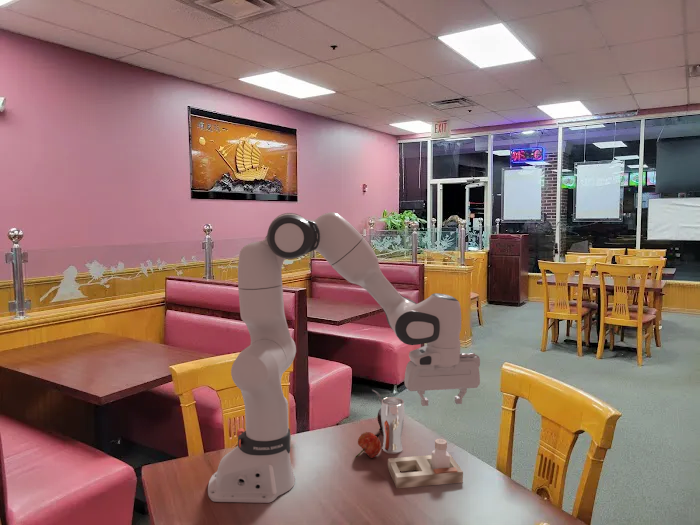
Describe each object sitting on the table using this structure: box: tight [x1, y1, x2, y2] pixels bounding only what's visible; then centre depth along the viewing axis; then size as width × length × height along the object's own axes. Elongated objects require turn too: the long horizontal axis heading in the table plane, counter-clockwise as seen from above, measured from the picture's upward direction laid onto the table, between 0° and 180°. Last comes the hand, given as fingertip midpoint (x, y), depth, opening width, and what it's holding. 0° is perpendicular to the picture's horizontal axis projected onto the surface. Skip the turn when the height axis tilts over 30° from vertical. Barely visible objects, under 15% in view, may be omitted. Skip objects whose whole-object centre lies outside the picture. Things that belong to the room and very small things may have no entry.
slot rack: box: [387, 453, 464, 489], centre depth 140 cm, size 18×10×3 cm, turn 99°
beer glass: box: [380, 396, 405, 455], centre depth 154 cm, size 7×7×15 cm
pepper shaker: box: [431, 438, 451, 470], centre depth 141 cm, size 4×4×10 cm
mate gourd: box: [371, 389, 384, 437], centre depth 165 cm, size 8×8×15 cm
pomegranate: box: [355, 431, 382, 459], centre depth 151 cm, size 7×7×10 cm
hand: (441, 404), depth 139 cm, fingers open, 8 cm apart
